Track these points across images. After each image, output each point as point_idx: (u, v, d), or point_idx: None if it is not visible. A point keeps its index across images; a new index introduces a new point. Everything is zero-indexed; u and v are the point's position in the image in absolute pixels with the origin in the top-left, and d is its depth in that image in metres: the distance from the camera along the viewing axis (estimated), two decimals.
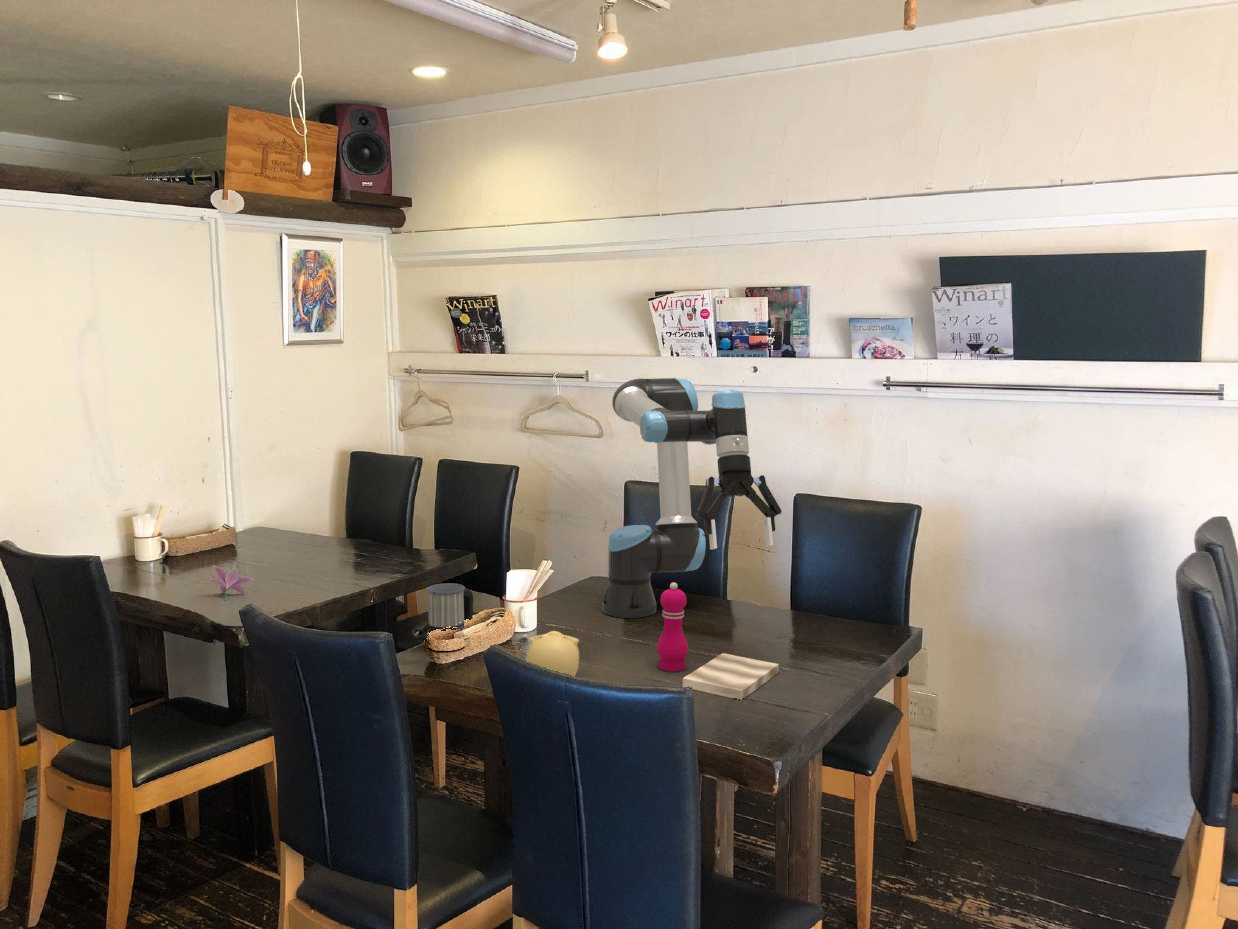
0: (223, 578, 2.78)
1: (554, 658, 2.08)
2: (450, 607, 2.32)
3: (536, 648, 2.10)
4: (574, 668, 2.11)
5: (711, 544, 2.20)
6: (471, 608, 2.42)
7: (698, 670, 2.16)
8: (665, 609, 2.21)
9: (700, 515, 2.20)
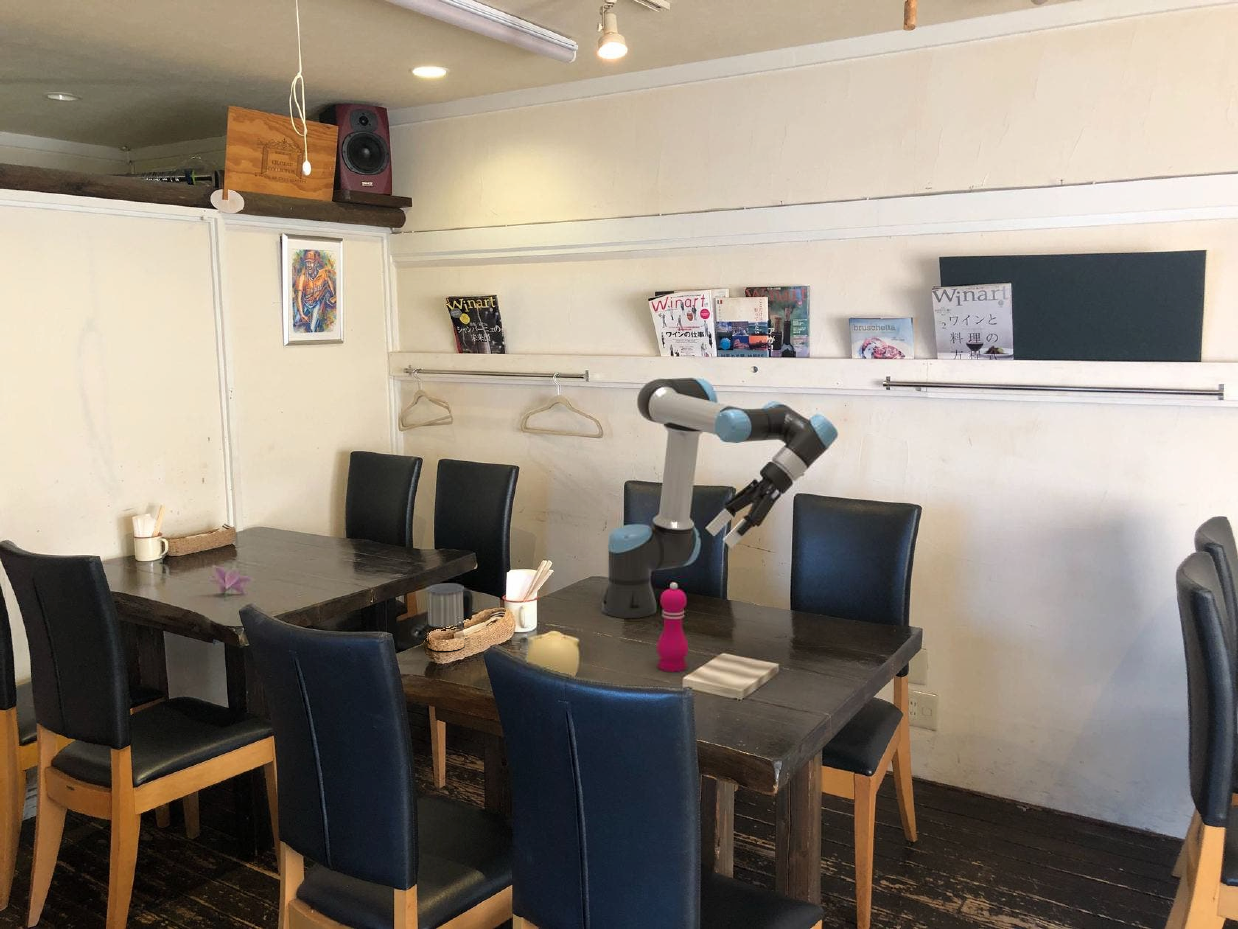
0: (223, 578, 2.78)
1: (554, 657, 2.08)
2: (450, 607, 2.32)
3: (536, 648, 2.10)
4: (574, 668, 2.11)
5: (730, 540, 2.15)
6: (470, 608, 2.42)
7: (698, 670, 2.16)
8: (665, 609, 2.21)
9: (758, 525, 2.13)
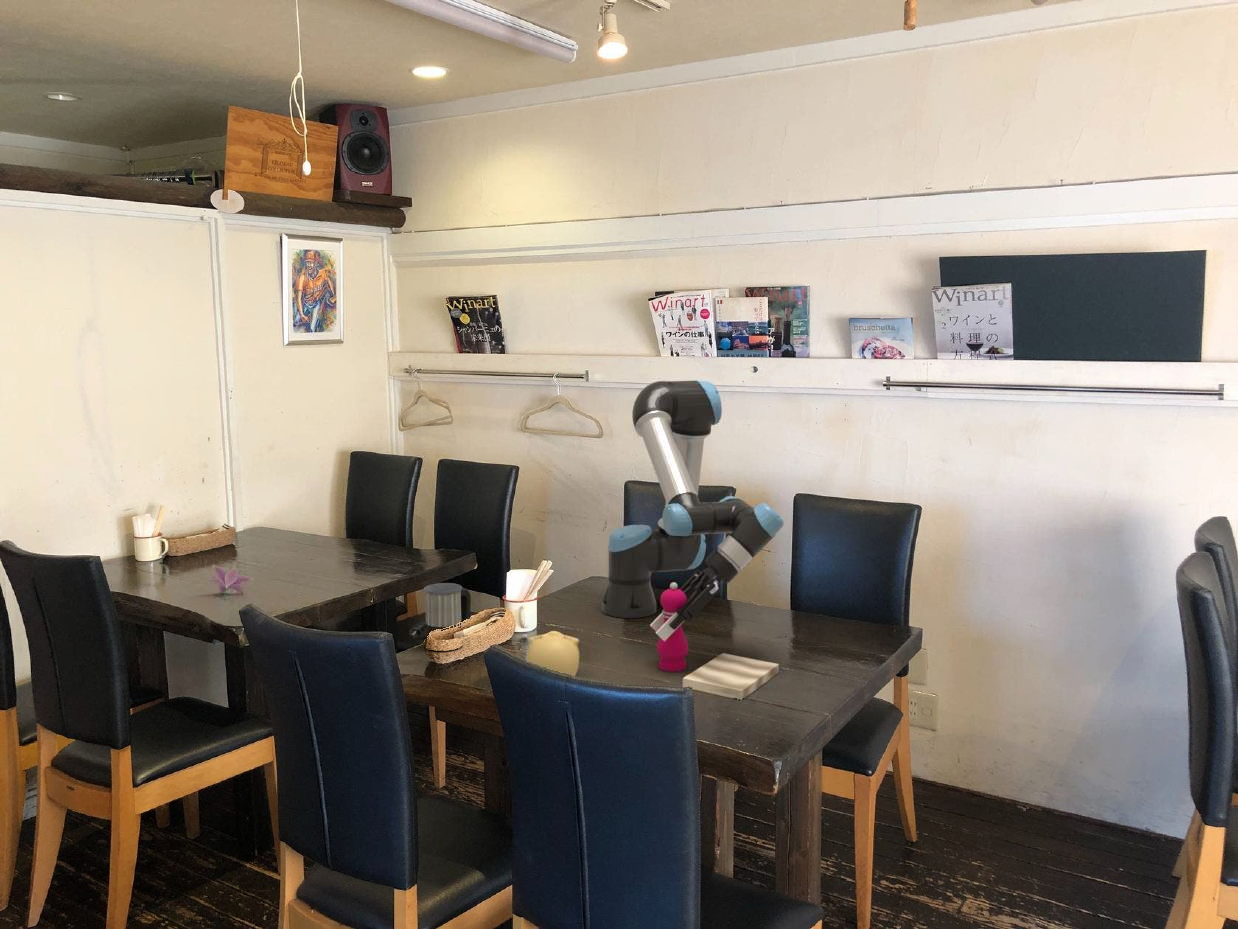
0: (222, 578, 2.78)
1: (554, 658, 2.08)
2: (447, 606, 2.32)
3: (536, 648, 2.10)
4: (574, 668, 2.11)
5: (663, 634, 2.19)
6: (468, 608, 2.42)
7: (698, 670, 2.16)
8: (665, 609, 2.21)
9: None
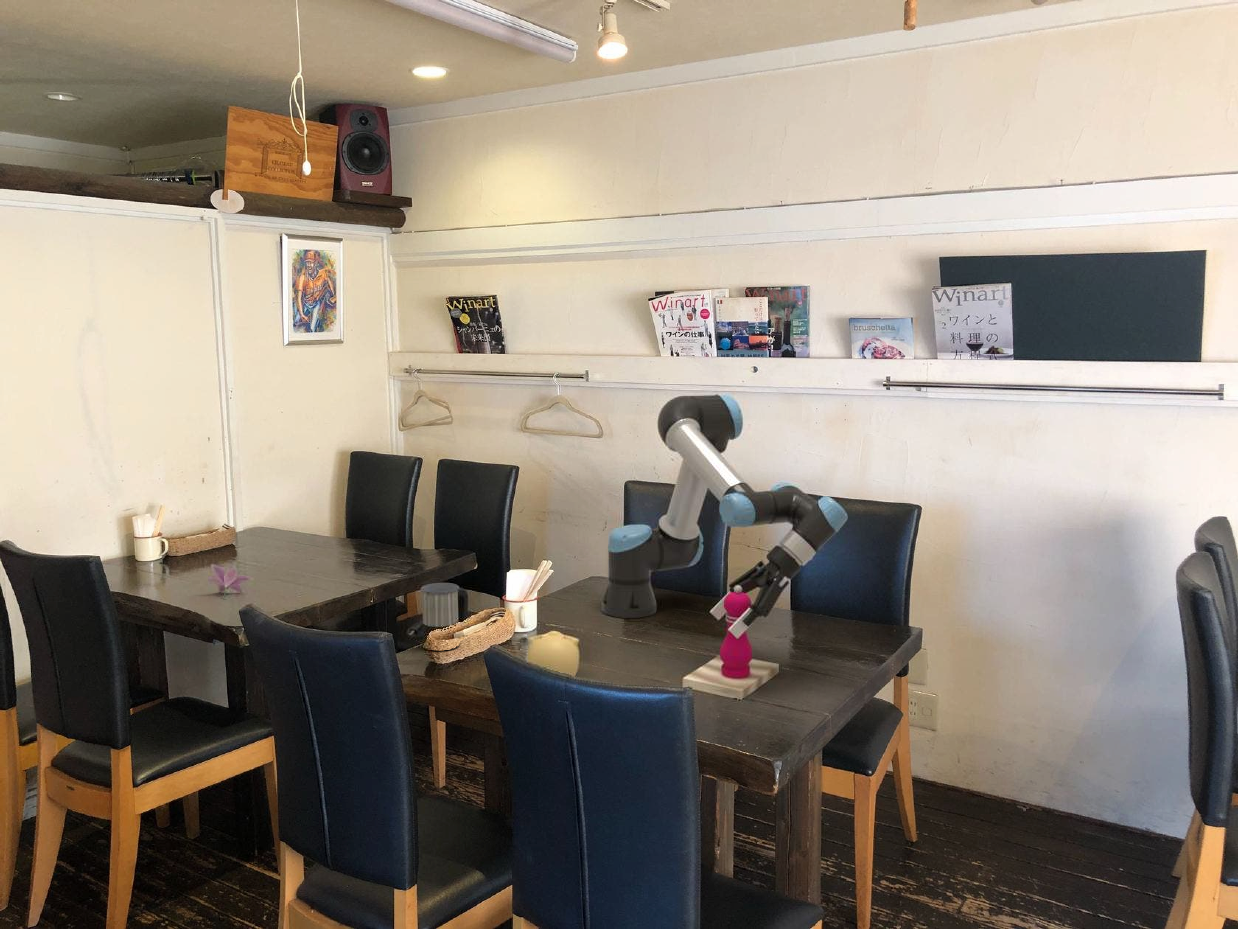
0: (222, 577, 2.79)
1: (554, 657, 2.08)
2: (444, 606, 2.32)
3: (536, 648, 2.10)
4: (574, 668, 2.11)
5: (736, 631, 2.07)
6: (466, 608, 2.43)
7: (698, 670, 2.16)
8: (729, 613, 2.11)
9: None
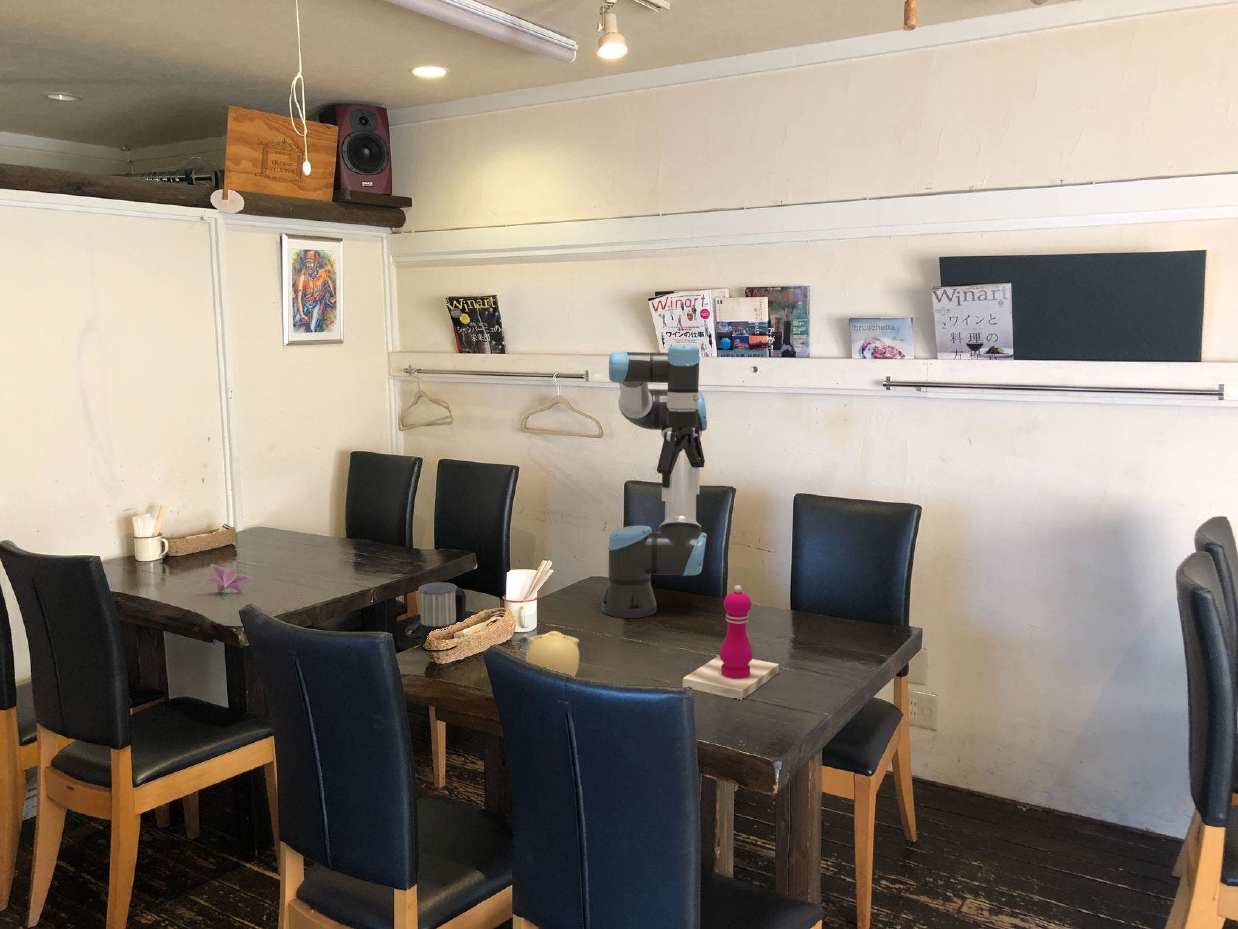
0: (221, 577, 2.79)
1: (554, 658, 2.08)
2: (441, 606, 2.32)
3: (536, 648, 2.10)
4: (574, 668, 2.11)
5: (666, 497, 2.30)
6: (464, 607, 2.43)
7: (698, 670, 2.16)
8: (729, 613, 2.11)
9: (666, 471, 2.26)
